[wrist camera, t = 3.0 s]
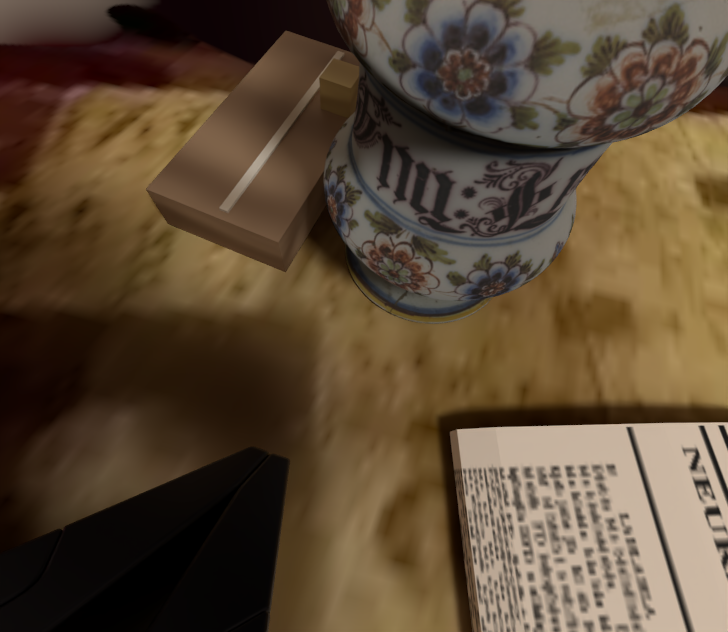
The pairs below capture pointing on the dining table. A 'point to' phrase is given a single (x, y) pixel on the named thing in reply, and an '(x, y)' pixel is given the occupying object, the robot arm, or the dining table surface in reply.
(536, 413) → the dining table surface
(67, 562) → the robot arm
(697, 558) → the newspaper
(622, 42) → the apothecary jar
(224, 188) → the brown rectangular block
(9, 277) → the dining table surface
